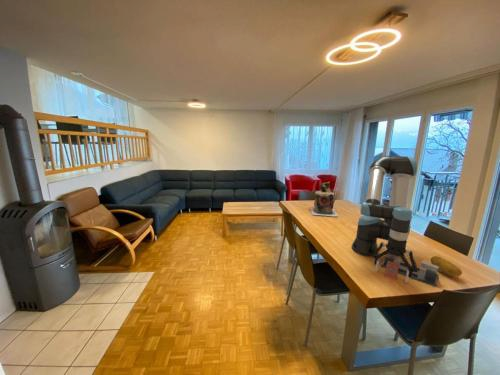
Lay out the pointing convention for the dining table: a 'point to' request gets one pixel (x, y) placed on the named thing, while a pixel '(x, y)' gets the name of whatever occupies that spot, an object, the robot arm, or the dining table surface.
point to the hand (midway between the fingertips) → (390, 275)
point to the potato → (446, 266)
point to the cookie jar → (324, 202)
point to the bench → (421, 275)
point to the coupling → (391, 270)
